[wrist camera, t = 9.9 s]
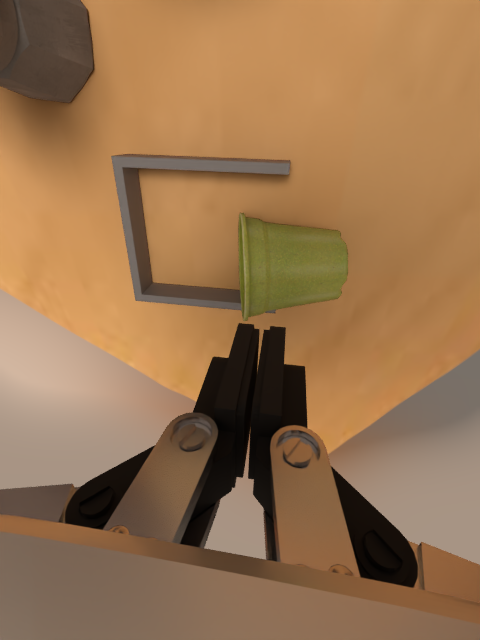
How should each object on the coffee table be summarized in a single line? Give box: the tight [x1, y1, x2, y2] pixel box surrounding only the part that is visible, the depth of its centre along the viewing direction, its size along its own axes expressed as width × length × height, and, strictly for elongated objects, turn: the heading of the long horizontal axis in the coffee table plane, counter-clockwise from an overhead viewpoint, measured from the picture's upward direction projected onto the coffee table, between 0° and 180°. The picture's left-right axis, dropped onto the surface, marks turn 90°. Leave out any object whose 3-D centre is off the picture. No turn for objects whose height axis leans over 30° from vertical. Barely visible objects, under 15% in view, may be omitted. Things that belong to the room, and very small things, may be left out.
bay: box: [111, 154, 290, 313], centre depth 30 cm, size 15×14×3 cm
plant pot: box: [238, 213, 348, 321], centre depth 28 cm, size 9×9×9 cm
